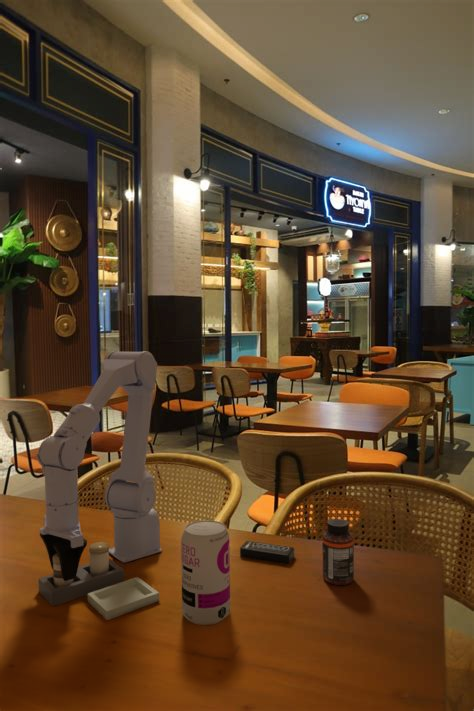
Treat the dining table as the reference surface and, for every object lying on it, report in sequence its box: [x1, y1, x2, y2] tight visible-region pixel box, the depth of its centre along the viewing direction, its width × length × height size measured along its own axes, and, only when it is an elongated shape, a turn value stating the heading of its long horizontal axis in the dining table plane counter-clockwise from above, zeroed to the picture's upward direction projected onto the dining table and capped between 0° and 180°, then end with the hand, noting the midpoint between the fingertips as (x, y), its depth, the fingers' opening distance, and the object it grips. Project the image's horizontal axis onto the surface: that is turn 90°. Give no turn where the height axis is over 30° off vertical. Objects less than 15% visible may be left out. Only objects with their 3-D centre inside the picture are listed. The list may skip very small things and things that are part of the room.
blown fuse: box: [52, 554, 74, 588], centre depth 99 cm, size 4×4×7 cm
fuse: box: [88, 541, 110, 576], centre depth 103 cm, size 4×4×7 cm
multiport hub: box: [239, 540, 295, 565], centre depth 114 cm, size 4×11×2 cm, turn 68°
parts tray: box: [87, 576, 160, 621], centre depth 96 cm, size 10×8×2 cm
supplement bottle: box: [321, 518, 355, 586], centre depth 103 cm, size 6×6×11 cm
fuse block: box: [38, 558, 125, 607], centre depth 101 cm, size 14×7×2 cm, turn 129°
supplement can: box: [180, 519, 231, 626], centre depth 91 cm, size 8×8×15 cm
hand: (63, 573), depth 99 cm, fingers open, 5 cm apart
